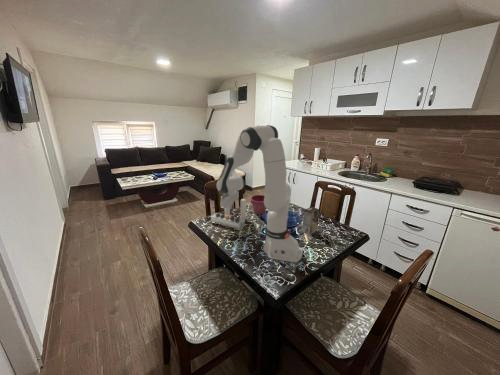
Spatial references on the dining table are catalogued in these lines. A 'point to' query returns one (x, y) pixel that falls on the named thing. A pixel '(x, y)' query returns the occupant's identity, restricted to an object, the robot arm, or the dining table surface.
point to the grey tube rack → (228, 220)
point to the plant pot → (258, 204)
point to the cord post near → (243, 208)
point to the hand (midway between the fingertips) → (230, 208)
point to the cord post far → (227, 211)
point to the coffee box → (310, 220)
